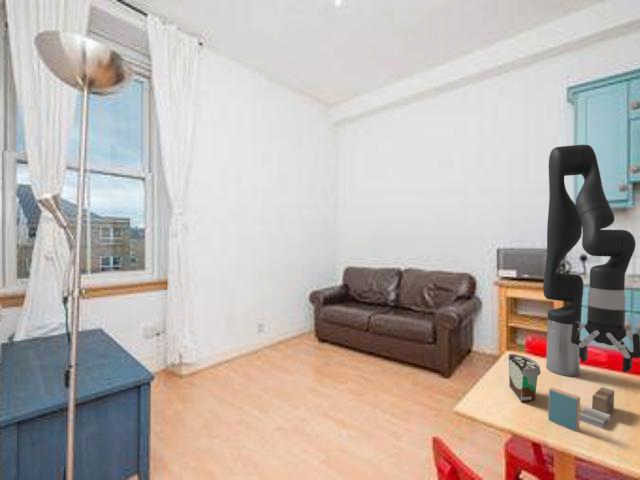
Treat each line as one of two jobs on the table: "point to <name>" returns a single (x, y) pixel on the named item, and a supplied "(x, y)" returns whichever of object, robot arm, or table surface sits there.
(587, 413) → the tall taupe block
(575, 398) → the tile
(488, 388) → the table surface
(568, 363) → the robot arm
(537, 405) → the table surface
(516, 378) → the food container
